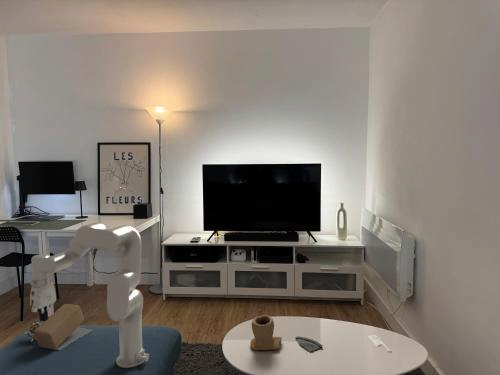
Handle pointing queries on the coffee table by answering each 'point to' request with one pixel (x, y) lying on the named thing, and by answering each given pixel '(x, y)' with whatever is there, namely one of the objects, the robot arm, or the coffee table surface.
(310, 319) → the coffee table surface
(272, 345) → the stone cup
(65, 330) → the block
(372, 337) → the white plastic blade
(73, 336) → the rubber mat
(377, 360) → the coffee table surface
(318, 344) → the curved wedge
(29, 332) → the passion flower
